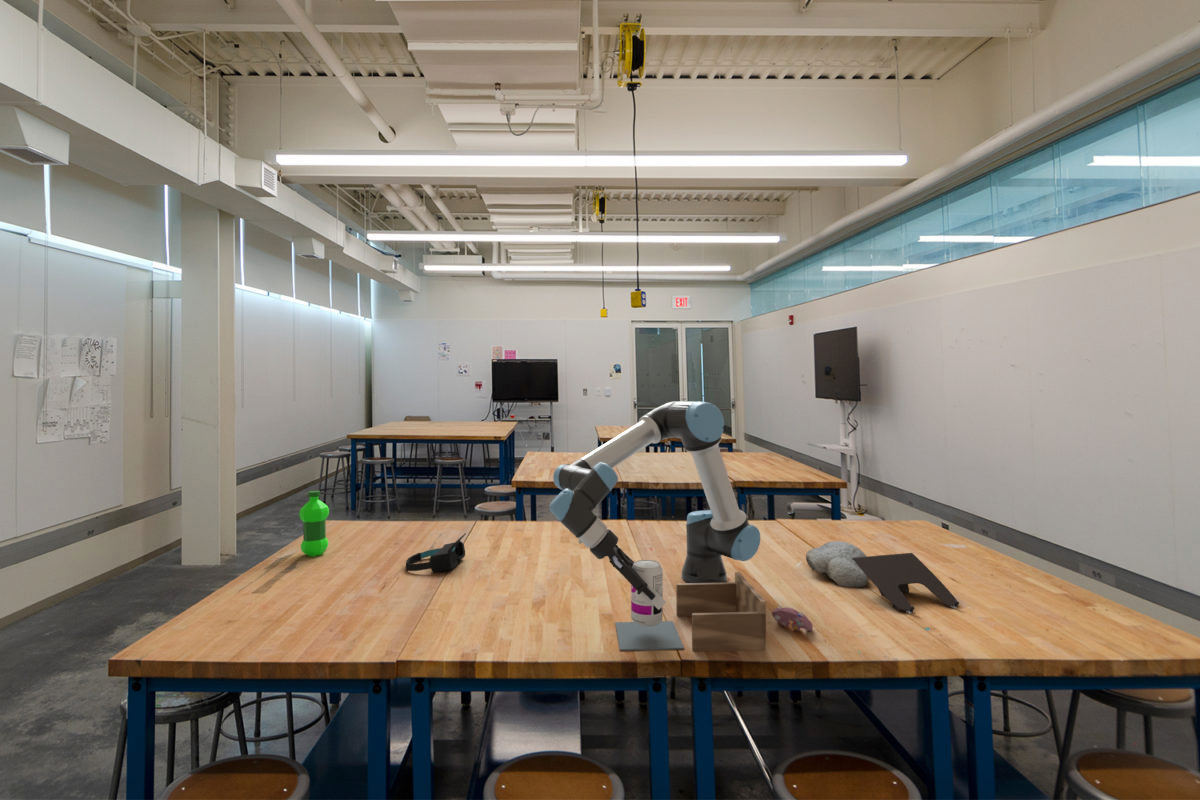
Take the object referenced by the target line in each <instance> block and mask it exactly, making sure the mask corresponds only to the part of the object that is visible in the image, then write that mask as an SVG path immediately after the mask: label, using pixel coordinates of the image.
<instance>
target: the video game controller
mask: <svg viewBox="0 0 1200 800" xmlns="http://www.w3.org/2000/svg"><path fill="white" fill-rule="evenodd" d="M771 616H772V617H773V619H774V620H775V621H777V622H778V623H780V625H781V626H782V627H783V628H788V627H789V626H790V625H791V628H792V629H793V630H794V631H797V632H799V631H800V630H801V629H804V630H805V631H808V632H810V631H812V630H813V627H814V625H813V623H812V621H811V620H809V618H808V617H807V616H806V615H805V614H804V613H803V612H801V611H798V610H797V609H794V608H793V607H782V606H781V605H779V606H778V607H776V608H774V610H772V613H771ZM791 622H792V624H791Z"/></svg>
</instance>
